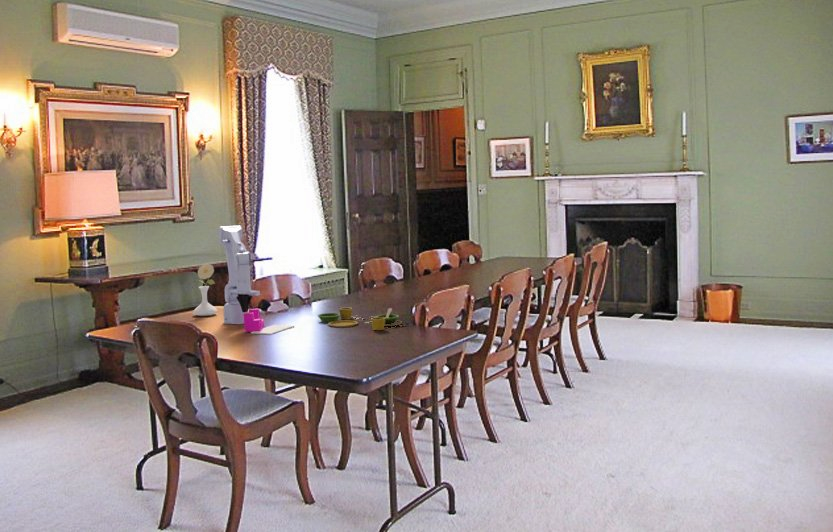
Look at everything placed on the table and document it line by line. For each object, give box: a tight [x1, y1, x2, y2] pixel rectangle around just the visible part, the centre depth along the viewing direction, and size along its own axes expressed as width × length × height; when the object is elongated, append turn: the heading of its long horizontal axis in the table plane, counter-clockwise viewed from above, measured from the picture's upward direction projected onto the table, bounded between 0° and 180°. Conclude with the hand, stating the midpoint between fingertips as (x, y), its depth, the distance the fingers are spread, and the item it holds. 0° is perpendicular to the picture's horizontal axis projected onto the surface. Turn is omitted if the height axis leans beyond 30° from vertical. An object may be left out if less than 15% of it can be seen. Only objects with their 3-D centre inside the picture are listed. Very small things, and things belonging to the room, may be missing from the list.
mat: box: [250, 324, 295, 336], centre depth 344 cm, size 10×18×1 cm, turn 157°
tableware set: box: [317, 307, 403, 331], centre depth 354 cm, size 41×28×6 cm
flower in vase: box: [192, 263, 218, 317], centre depth 385 cm, size 13×11×25 cm
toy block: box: [243, 308, 265, 333], centre depth 347 cm, size 15×6×8 cm, turn 0°
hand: (245, 311), depth 349 cm, fingers closed
